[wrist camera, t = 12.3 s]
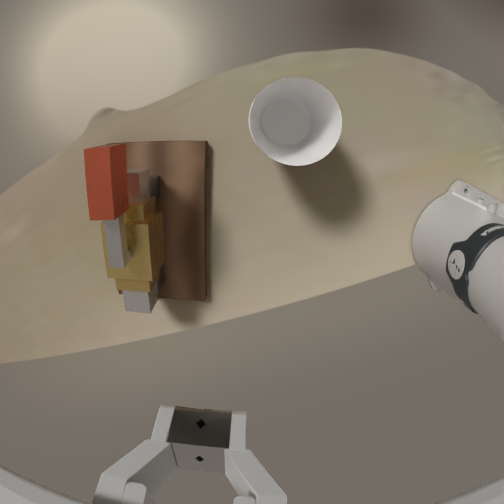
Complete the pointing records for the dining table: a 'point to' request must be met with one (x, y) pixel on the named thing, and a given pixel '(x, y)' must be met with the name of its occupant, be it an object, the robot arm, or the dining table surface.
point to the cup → (295, 121)
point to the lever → (109, 197)
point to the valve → (141, 244)
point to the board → (178, 211)
